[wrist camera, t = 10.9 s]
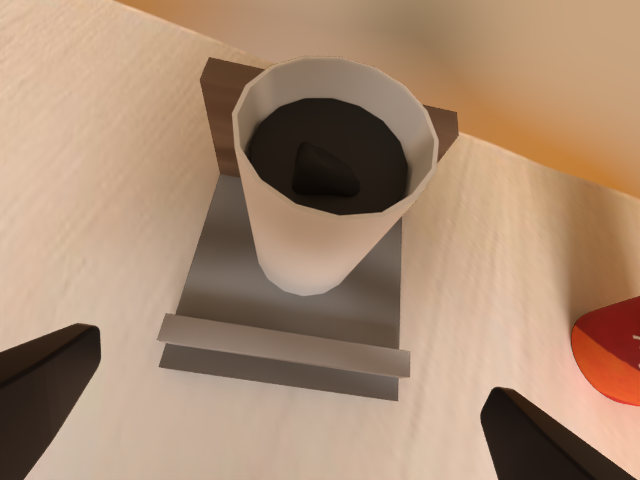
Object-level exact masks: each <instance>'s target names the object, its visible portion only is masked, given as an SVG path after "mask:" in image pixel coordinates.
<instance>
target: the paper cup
mask: <svg viewBox="0 0 640 480" xmlns="http://www.w3.org/2000/svg"><path fill="white" fill-rule="evenodd" d="M571 343H572V350H573V354H574V357H575V360H576V362H577V364H578V366H579V368H580V370H581V372H582V373H583V375H584V376H585V378H586V379H587V380H588V381H589V383H590V384H591V385H592V386H593V387H594V388H595V389H596V390H597V391H599V392H600V393H601V394H603V395H604V396H606V397H607V398H609V399H611V400H613V401H616V402H619V403H623V404H628V405H634V406H640V296H638V297H635V298H632V299H629V300H625V301H622V302H619V303H616V304H613V305H610V306H607V307H604V308H601V309H598V310H595V311H592V312H589V313H587V314H585V315H583V316H582V317H580V318H579V319H578V320H577V322H576V323H575V325H574V327H573V330H572V336H571Z"/></svg>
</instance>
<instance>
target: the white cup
mask: <svg viewBox="0 0 640 480" xmlns="http://www.w3.org/2000/svg"><path fill="white" fill-rule="evenodd" d="M232 120H233V133H234V146H235V152H236V157H237V161H238V166H239V171H240V176H241V181H242V185H243V190H244V195H245V200H246V205H247V209H248V214H249V219H250V224H251V229H252V233H253V238H254V243H255V248H256V253H257V257H258V263H259V264H260V266H261V268H262V270H263V271H264V273H265V275H266V277H267V278H268V280H270V281H271V282H272V283H274V284H275V285H276V286H278V287H279V288H280V289H282V290H283V291H285V292H289V293H293V294H297V295H300V296H310V295H317V294H324V293H325V292H327V291H329V290H330V289H332V288H334V287H336V286H337V285H339V284H340V283H341V282H342V281H343V280H344V278H345V277H346V276H347V275H348V274H349V273H350V272H351V271H352V270H353V269H354V268H355V267H356V265H357V264H358V263H359V262H360V261H361V260H362V259H363V258H364V257H365V256H366V255H367V253H368V252H369V251H370V250H371V249H372V248H373V247H374V246H375V245H376V244H377V243H378V241H379V240H380V239H381V238H382V237H383V236H384V235H385V234H386V233H387V232H388V231H389V230H390V228H391V227H392V226H393V225H394V224H395V223H396V222H397V221H398V220H399V219H400V218H401V216H402V215H403V214H404V213H405V212H406V211H407V210H408V209H409V208H410V207H411V206H412V204H413V203H414V202H415V201H416V200H417V199H418V198H419V196H420V195H421V193H422V192H423V190H424V189H425V187H426V186H427V184H428V183H429V182H430V180H431V179H432V177H433V176H434V174H435V173H436V168H437V157H438V145H439V140H438V137H437V135H436V132H435V129H434V127H433V124H432V122H431V119H430V116H429V114H428V111H427V110H426V109H425V108H424V107H423V105H422V104H421V103H420V102H419V101H418V100H417V99H416V98H415V97H414V95H413V94H412V93H411V92H410V91H409V90H408V89H407V87H406V86H405V85H403V84H401V83H400V82H398V81H397V80H395V79H393V78H392V77H390V76H388V75H387V74H385V73H384V72H382V71H380V70H379V69H377V68H375V67H373V66H370V65H366V64H363V63H359V62H356V61H352V60H349V59H346V58H343V57H330V56H302V57H299V58H295V59H292V60H288V61H285V62H282V63H278V64H274V65H271V66H270V67H269V68H267V69H266V70H265V71H263V72H262V73H261V74H259V75H258V76H257V77H255V78H254V79H253V80H252V81H250V82H249V83H248V84H246V85H245V87H244V89H243V92H242V94H241V96H240V98H239V100H238V102H237V104H236V106H235V108H234V110H233V112H232Z"/></svg>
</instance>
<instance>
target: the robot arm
mask: <svg viewBox="0 0 640 480" xmlns="http://www.w3.org/2000/svg"><path fill="white" fill-rule="evenodd" d="M100 360H101V343H100V330H99V328H98V327H97V326H95V325H88V324H81V323H77V324H73V325H70V326H68V327H65V328H63V329H60V330H57V331H55V332H52V333H50V334H47V335H44V336H42V337H39V338H36V339H34V340H31V341H29V342H26V343H23V344H21V345H18V346H15V347H13V348H10V349H8V350H5V351H2V352H0V480H24V478H25V477H26V476H27V474H28V473H29V472H30V470H31V469H32V468H33V466H34V465H35V464H36V462H37V461H38V460H39V458H40V457H41V456H42V454H43V453H44V452H45V450H46V449H47V447H48V446H49V445H50V443H51V442H52V440H53V439H54V437H55V436H56V434H57V433H58V431H59V430H60V428H61V427H62V425H63V423H64V422H65V420H66V419H67V417H68V415H69V414H70V412H71V410H72V409H73V407H74V406H75V404H76V402H77V401H78V399H79V397H80V396H81V394H82V393H83V391H84V389H85V388H86V386H87V384H88V383H89V381H90V380H91V378H92V376H93V375H94V373H95V371H96V370H97V368H98V366H99V363H100ZM480 419H481V425H482V428H483V431H484V434H485V438H486V441H487V444H488V447H489V451H490V454H491V457H492V461H493V464H494V467H495V470H496V474H497V477H498V480H637V479H635V478H634V477H632V476H631V475H630V474H628V473H627V472H626V471H624V470H623V469H622V468H620V467H619V466H617V465H616V464H615V463H613V462H612V461H611V460H609V459H608V458H607V457H605V456H604V455H602V454H601V453H600V452H598V451H597V450H596V449H594V448H593V447H592V446H590V445H589V444H587V443H586V442H585V441H583V440H582V439H581V438H579V437H578V436H577V435H575V434H574V433H572V432H571V431H570V430H568V429H567V428H566V427H564V426H563V425H562V424H560V423H559V422H557V421H556V420H555V419H553V418H552V417H551V416H549V415H548V414H547V413H545V412H544V411H542V410H541V409H540V408H538V407H537V406H536V405H534V404H533V403H531V402H530V401H529V400H527V399H526V398H525V397H523V396H522V395H521V394H519V393H518V392H516V391H515V390H513V389H510V388H503V387H495V388H493V389H492V390H491V392H490V394H489V396H488V398H487V400H486V402H485V404H484V406H483V409H482V411H481V415H480Z"/></svg>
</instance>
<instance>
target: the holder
mask: <svg viewBox="0 0 640 480" xmlns="http://www.w3.org/2000/svg"><path fill="white" fill-rule="evenodd" d="M263 71H265V70H264V69H260V68H256V67H251V66H247V65H242V64H238V63H233V62H229V61H224V60H220V59H215V58H211V57H209V59H208V61H207V64H206V66H205V68H204V71H203V73H202V76H201V78H200V83H201V87H202V92H203V97H204V101H205V106H206V110H207V115H208V120H209V124H210V129H211V134H212V138H213V143H214V147H215V152H216V157H217V161H218V166H219V170H220V176H219V180H218V183H217V186H216V189H215V192H214V195H213V198H212V201H211V205H210V208H209V211H208V214H207V217H206V220H205V223H204V227H203V230H202V233H201V236H200V239H199V242H198V245H197V248H196V252H195V255H194V258H193V261H192V264H191V267H190V270H189V273H188V277H187V280H186V283H185V286H184V289H183V292H182V295H181V299H180V302H179V305H178V308H177V311H176V314H175V315H173V314H167V313H166V314H165V317H164V320H163V323H162V326H161V329H160V332H159V335H158V338H157V340H159V341H162V342H164V343H166V346H165V349H164V352H163V355H162V358H161V361H160V364H159V367H161V368H167V369H174V370H181V371H188V372H195V373H202V374H209V375H216V376H223V377H230V378H237V379H244V380H251V381H258V382H265V383H272V384H279V385H286V386H293V387H300V388H307V389H314V390H321V391H329V392H336V393H343V394H350V395H357V396H364V397H371V398H378V399H385V400H392V401H398V378H407V377H410V351H404V350H399V331H400V284H401V238H402V216H401V218H400V219H399V220H398V221H397V222H396V223H395V224H394V225H393V226H392V227H391V228H390V230H389V231H388V232H387V233H386V234H385V235H384V236H383V237H382V238H381V239H380V240H379V241H378V243H377V244H376V245H375V246H374V247H373V248H372V249H371V250H370V251H369V252H368V253H367V255H366V256H365V257H364V258H363V259H362V260H361V261H360V262H359V263H358V264H357V265H356V267H355V268H354V269H353V270H352V271H351V272H350V273H349V274H348V275H347V276H346V277H345V278H344V280H343V281H342V282H341V283H340V284H339V285H337V286H336V287H334V288H332V289H330V290H329V291H327V292H325V293H324V294H317V295H310V296H300V295H297V294H293V293H289V292H285V291H283V290H282V289H280V288H279V287H278V286H276V285H275V284H274V283H272V282H271V281H270V280H268V278H267V277H266V275H265V273H264V271H263V270H262V268H261V266H260V264H259V263H258V257H257V253H256V248H255V243H254V238H253V233H252V229H251V224H250V219H249V214H248V209H247V205H246V200H245V195H244V190H243V185H242V181H241V176H240V171H239V166H238V161H237V157H236V152H235V146H234V133H233V120H232V112H233V110H234V108H235V106H236V104H237V102H238V100H239V98H240V96H241V94H242V92H243V89H244V87H245V85H246V84H248V83H249V82H250V81H252V80H253V79H254V78H255V77H257V76H258V75H259V74H261V73H262V72H263ZM423 107H424V108H425V109H426V110H427V111H428V114H429V116H430V119H431V122H432V124H433V127H434V129H435V132H436V135H437V137H438V140H439V145H438V157H437V163H438V162H439V160H440V159H441V158H442V157H443V155H444V154H445V153H446V151H447V150H448V149H449V147H450V146H451V145H452V143H453V142H454V141H455V140H456V138H457V137H458V136H459V135H458V121H457V112H453V111H449V110H444V109H440V108H435V107H430V106H426V105H423Z"/></svg>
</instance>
